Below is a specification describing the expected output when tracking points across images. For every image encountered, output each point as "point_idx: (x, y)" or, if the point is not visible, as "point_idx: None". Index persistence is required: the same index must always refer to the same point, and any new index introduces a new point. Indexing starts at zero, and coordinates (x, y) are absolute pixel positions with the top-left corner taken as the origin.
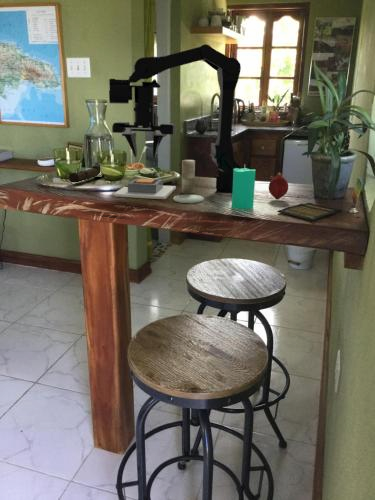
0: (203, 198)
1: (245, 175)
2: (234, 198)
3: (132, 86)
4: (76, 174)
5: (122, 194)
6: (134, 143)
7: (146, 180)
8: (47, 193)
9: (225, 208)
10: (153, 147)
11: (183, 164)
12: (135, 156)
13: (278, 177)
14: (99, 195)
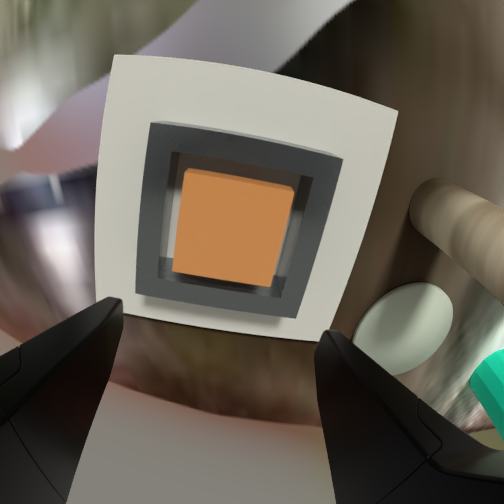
0: (445, 336)
1: None
2: (480, 398)
3: None
4: None
5: (136, 314)
6: (61, 437)
7: (236, 238)
8: None
9: (453, 390)
10: (333, 465)
11: (496, 293)
12: (119, 332)
13: None
14: (47, 283)
